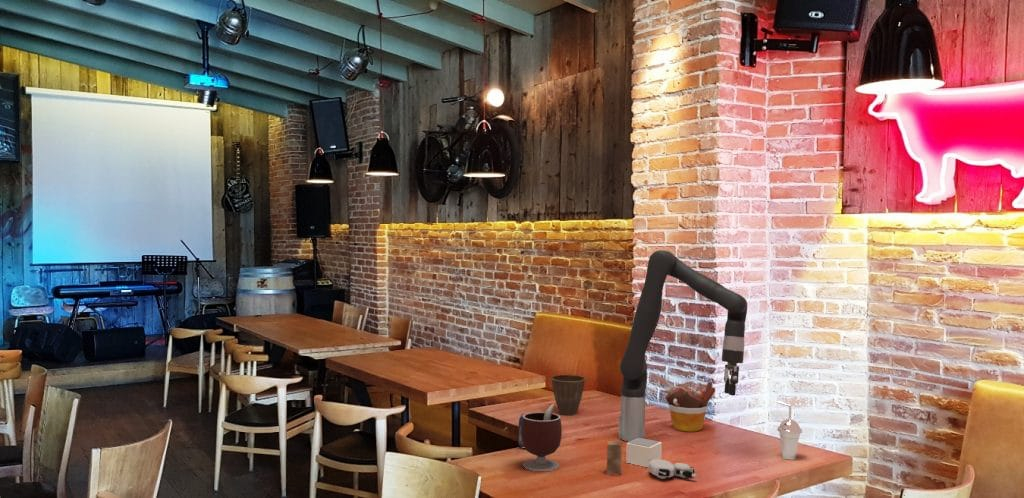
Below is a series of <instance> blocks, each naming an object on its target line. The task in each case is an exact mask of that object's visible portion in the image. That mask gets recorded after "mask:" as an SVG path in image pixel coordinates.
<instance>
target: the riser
mask: <svg viewBox="0 0 1024 498" xmlns="http://www.w3.org/2000/svg"><path fill="white" fill-rule="evenodd" d="M662 443H663V442H661V441H657V440H652V439H647V438H644V439H643V438H637V439H635V440H633V441H631V442H626V443H625V444H626V448H625V449H626V450H625V451H626V452H625V453H626V454H625V455H626V456H625V461H626V462H627V463H631V464H630V465H632V464H635V465H634V466H636V465H640V466H639V467H641V466H644V467H643V468H645V467H648V468H647V469H649V462H650V461H651V460H649V459H652V460H653V459H659V460H662V457H663V456H662V451H663V450H662V447H663V444H662ZM648 458H649V459H648ZM626 462H625V463H626ZM627 463H626V464H627Z"/></svg>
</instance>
